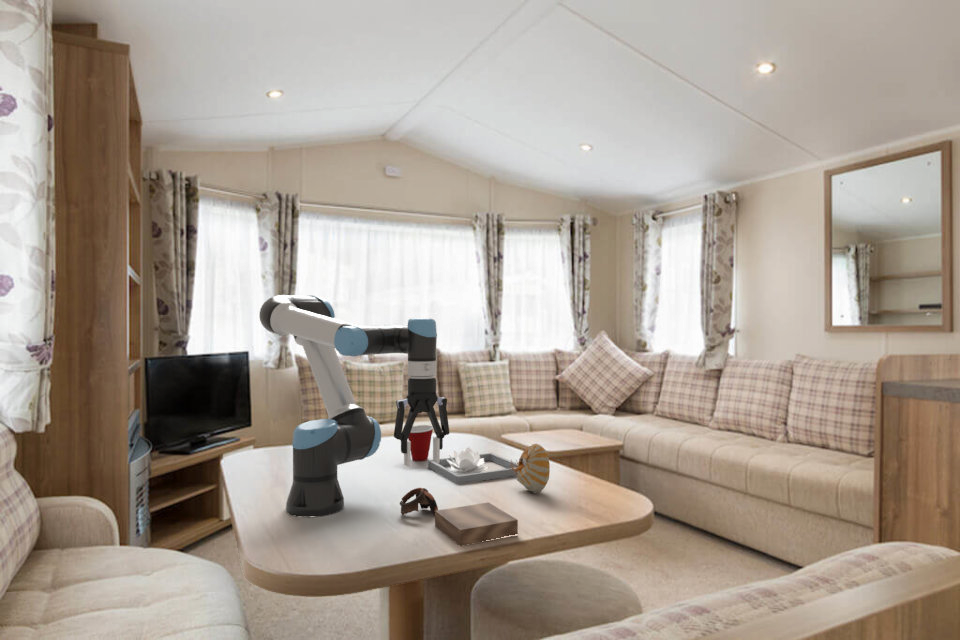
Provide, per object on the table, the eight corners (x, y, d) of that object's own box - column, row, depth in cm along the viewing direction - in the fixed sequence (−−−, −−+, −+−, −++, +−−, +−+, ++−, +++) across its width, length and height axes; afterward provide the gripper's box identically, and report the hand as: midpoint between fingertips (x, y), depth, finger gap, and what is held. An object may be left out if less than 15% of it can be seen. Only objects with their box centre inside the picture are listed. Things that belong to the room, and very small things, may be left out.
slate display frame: (457, 484, 186) (457, 476, 186) (428, 467, 207) (428, 460, 207) (526, 474, 197) (526, 467, 197) (491, 459, 219) (491, 452, 219)
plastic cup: (400, 457, 222) (400, 426, 222) (427, 454, 227) (427, 423, 227) (410, 464, 212) (410, 430, 212) (438, 460, 217) (438, 428, 217)
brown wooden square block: (460, 552, 133) (460, 530, 133) (435, 530, 146) (435, 510, 146) (517, 540, 139) (517, 519, 139) (488, 521, 153) (488, 502, 153)
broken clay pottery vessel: (440, 523, 151) (425, 496, 149) (408, 537, 152) (392, 512, 150) (444, 498, 162) (429, 474, 161) (414, 513, 164) (399, 488, 162)
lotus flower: (435, 475, 196) (435, 449, 196) (460, 466, 209) (460, 441, 209) (471, 482, 189) (471, 455, 189) (495, 471, 202) (495, 446, 202)
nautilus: (523, 480, 191) (523, 433, 191) (559, 498, 171) (558, 446, 171) (501, 482, 187) (501, 435, 187) (535, 501, 168) (535, 449, 168)
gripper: (389, 380, 147) (389, 471, 147) (463, 376, 156) (462, 462, 156) (380, 377, 153) (380, 464, 153) (451, 374, 163) (451, 456, 163)
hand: (421, 463), depth 155 cm, fingers open, 7 cm apart
